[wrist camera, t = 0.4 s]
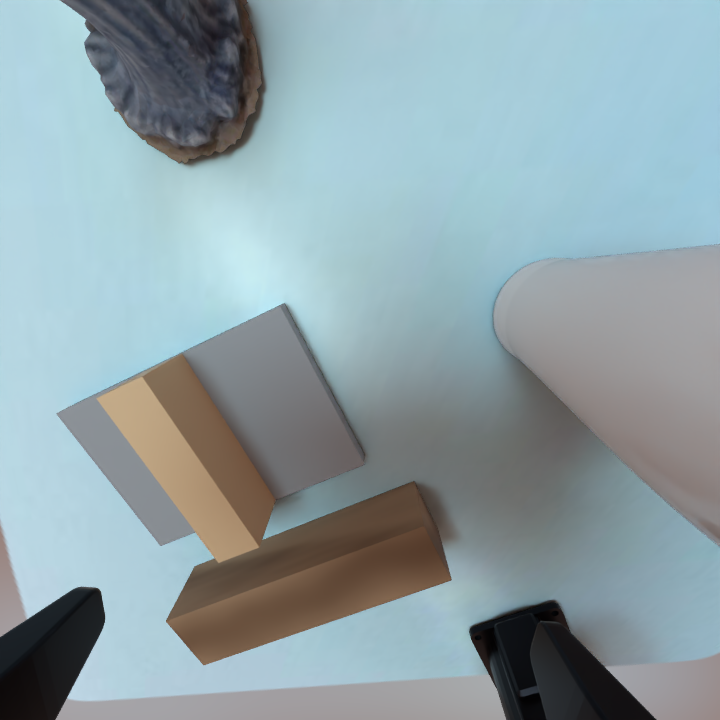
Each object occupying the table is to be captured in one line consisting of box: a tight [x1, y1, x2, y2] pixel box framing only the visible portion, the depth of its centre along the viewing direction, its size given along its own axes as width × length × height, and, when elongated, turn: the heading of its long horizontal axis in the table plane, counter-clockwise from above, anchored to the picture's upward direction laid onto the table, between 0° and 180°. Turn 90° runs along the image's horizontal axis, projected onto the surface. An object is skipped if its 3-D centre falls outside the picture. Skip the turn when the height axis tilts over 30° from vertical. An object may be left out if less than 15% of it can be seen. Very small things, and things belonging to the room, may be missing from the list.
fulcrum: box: [57, 304, 365, 563], centre depth 19 cm, size 10×14×4 cm
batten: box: [166, 481, 452, 665], centre depth 22 cm, size 4×16×4 cm, turn 115°
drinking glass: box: [493, 244, 720, 547], centre depth 12 cm, size 7×7×15 cm
